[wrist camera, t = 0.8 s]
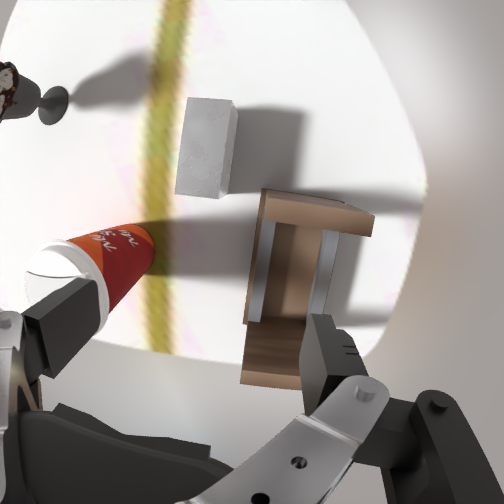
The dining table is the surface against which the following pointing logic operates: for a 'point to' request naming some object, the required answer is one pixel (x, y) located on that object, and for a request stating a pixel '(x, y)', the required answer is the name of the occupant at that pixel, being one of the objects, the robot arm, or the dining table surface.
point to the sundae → (28, 97)
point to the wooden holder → (290, 279)
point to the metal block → (206, 148)
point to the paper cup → (92, 264)
